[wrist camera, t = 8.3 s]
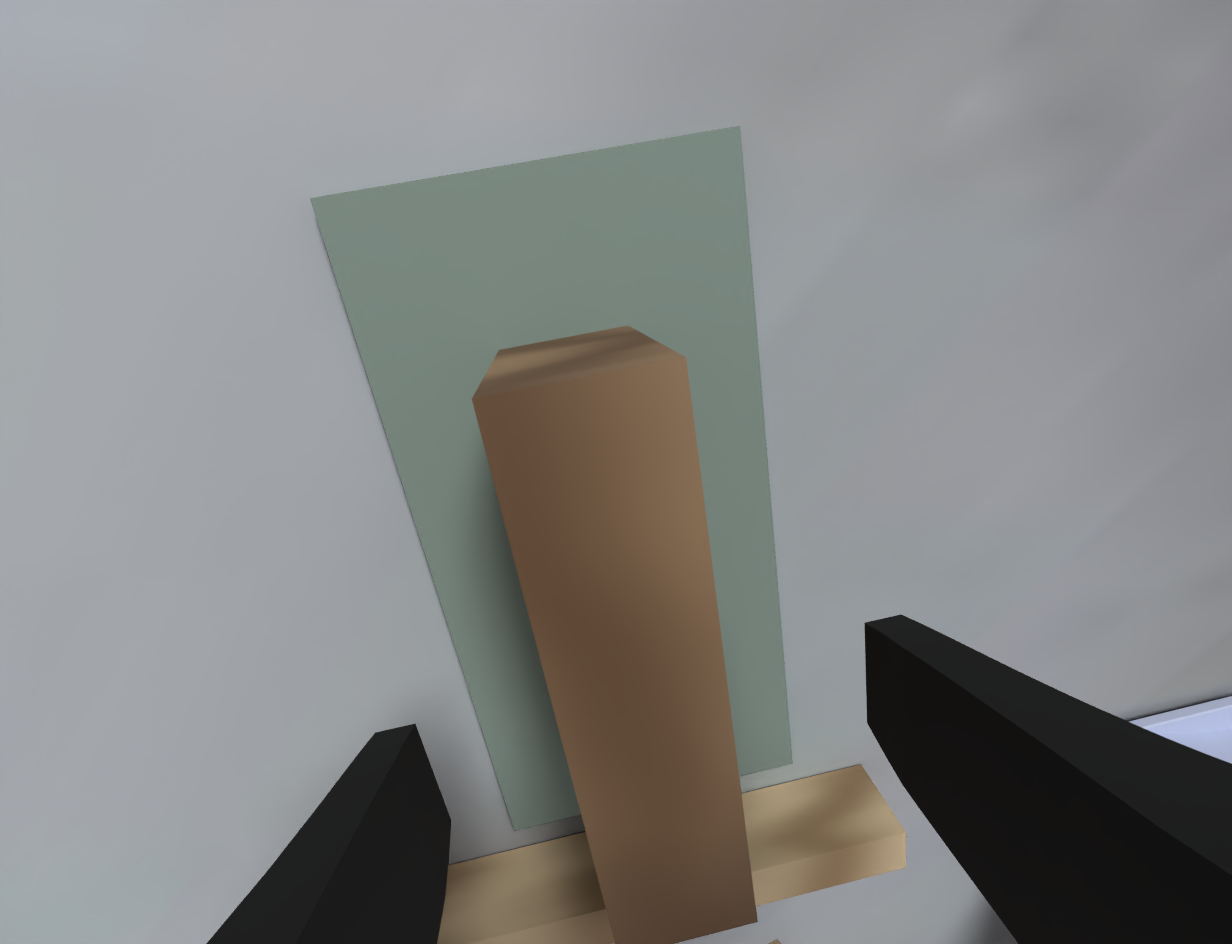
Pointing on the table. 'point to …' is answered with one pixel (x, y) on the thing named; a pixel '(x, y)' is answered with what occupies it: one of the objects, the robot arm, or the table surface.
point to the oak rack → (778, 850)
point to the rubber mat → (546, 310)
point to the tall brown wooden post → (625, 619)
